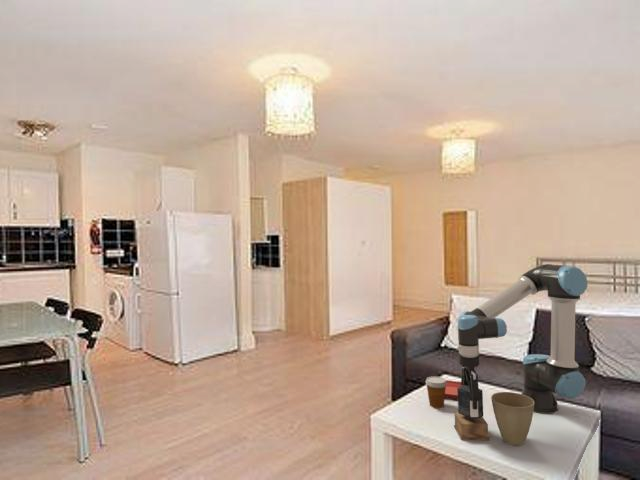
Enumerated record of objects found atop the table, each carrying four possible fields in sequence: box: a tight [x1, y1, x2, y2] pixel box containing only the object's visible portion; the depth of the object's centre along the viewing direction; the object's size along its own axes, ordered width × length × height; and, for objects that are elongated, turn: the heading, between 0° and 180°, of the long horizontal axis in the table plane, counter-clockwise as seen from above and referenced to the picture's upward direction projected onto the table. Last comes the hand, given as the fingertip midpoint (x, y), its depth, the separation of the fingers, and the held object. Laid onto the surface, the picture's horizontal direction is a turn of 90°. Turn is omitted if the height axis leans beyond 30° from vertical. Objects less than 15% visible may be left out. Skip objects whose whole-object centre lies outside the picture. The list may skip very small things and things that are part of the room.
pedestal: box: [453, 412, 490, 441], centre depth 159 cm, size 11×11×6 cm
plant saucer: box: [445, 379, 462, 401], centre depth 199 cm, size 18×18×3 cm
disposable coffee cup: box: [425, 376, 447, 409], centre depth 186 cm, size 10×10×12 cm
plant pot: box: [490, 391, 535, 446], centre depth 153 cm, size 15×15×16 cm
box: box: [457, 385, 484, 420], centre depth 159 cm, size 8×6×11 cm
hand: (470, 410), depth 159 cm, fingers closed on box, 9 cm apart
